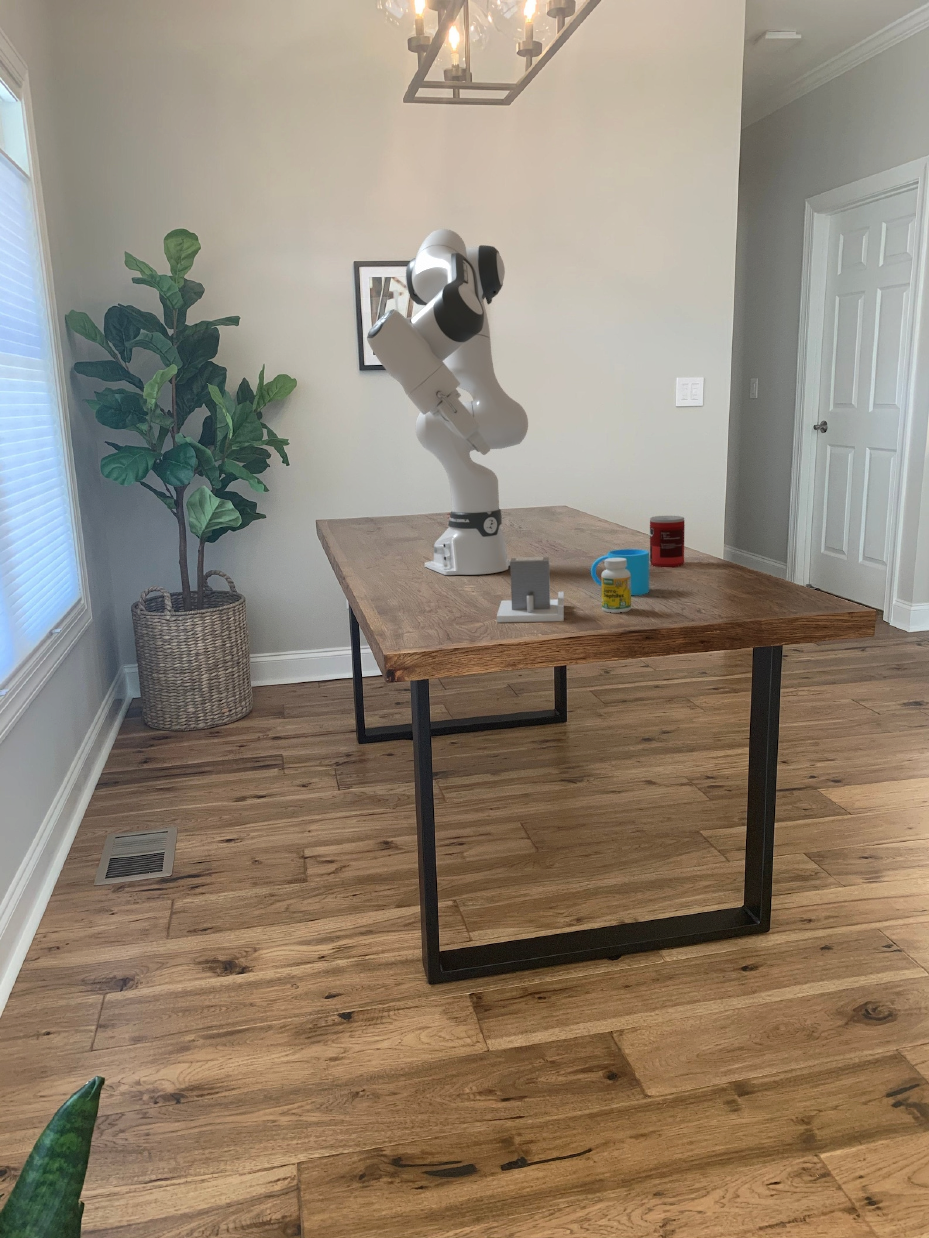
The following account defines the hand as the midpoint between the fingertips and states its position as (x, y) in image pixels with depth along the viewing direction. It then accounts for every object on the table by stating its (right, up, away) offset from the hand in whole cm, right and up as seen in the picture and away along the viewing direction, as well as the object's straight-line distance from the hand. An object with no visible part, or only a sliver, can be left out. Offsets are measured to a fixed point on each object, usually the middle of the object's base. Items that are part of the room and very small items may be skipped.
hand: (484, 451), depth 171 cm
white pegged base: (+9, -30, +1) cm, 31 cm away
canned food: (+43, -19, +43) cm, 64 cm away
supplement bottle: (+25, -30, +1) cm, 39 cm away
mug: (+28, -26, +17) cm, 42 cm away
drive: (+9, -29, +1) cm, 30 cm away
